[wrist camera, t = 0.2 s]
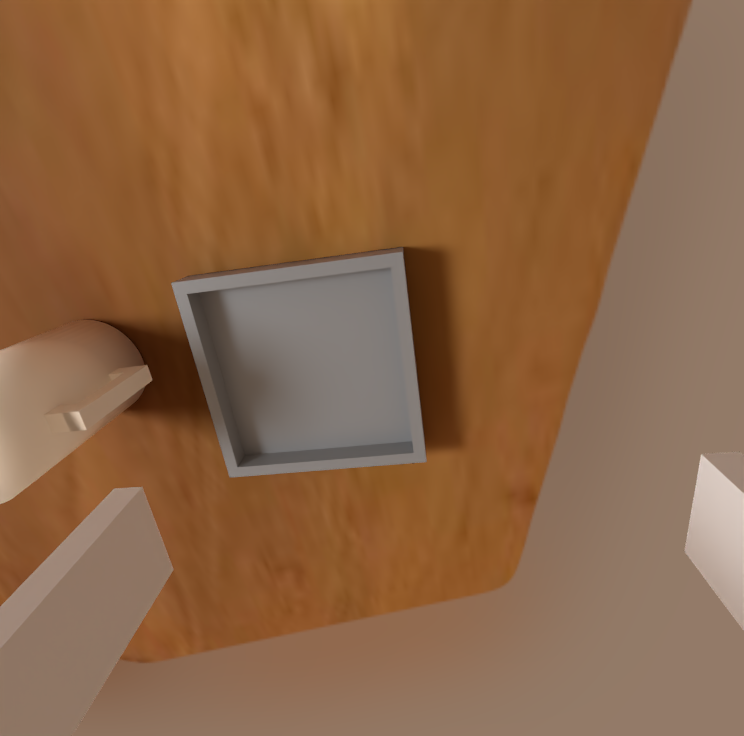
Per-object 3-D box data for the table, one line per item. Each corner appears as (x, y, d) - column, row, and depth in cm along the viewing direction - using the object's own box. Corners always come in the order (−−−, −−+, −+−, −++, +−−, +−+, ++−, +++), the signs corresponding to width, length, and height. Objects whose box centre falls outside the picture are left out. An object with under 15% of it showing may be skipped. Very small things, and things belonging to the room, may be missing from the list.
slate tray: (188, 276, 38) (171, 282, 35) (403, 246, 35) (402, 251, 33) (241, 459, 44) (229, 477, 41) (425, 443, 42) (426, 461, 39)
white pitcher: (34, 325, 40) (-142, 390, 27) (153, 310, 39) (27, 371, 26) (72, 414, 44) (-70, 510, 31) (183, 403, 42) (84, 498, 29)
